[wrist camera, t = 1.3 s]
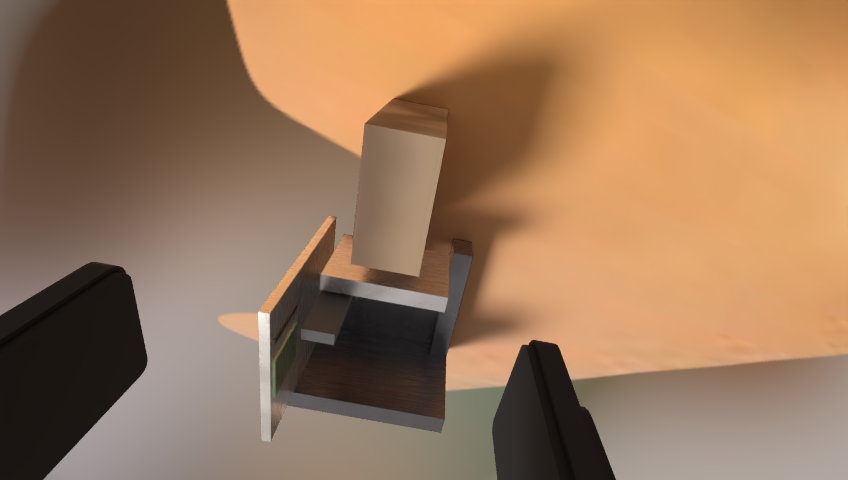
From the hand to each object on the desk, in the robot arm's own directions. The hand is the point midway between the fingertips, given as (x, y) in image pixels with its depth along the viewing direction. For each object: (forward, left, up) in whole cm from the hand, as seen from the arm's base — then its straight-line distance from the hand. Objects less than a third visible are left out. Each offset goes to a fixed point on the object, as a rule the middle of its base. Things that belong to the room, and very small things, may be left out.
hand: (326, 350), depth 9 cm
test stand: (0, +13, -22) cm, 25 cm away
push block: (0, +1, -22) cm, 22 cm away
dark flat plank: (+3, +9, -20) cm, 23 cm away
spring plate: (0, +9, -20) cm, 22 cm away
